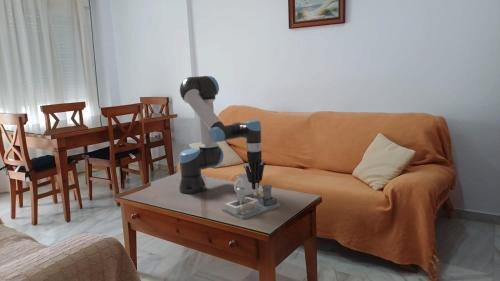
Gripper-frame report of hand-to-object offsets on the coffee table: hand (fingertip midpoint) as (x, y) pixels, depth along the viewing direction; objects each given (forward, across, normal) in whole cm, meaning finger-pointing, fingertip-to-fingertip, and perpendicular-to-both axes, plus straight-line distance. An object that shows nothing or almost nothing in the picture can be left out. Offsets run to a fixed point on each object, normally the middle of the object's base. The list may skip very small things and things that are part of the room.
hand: (255, 194), depth 199 cm
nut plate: (+3, -9, -8) cm, 12 cm away
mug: (+3, +1, +12) cm, 13 cm away
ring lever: (+1, +1, -5) cm, 5 cm away
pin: (+2, -14, -7) cm, 16 cm away
